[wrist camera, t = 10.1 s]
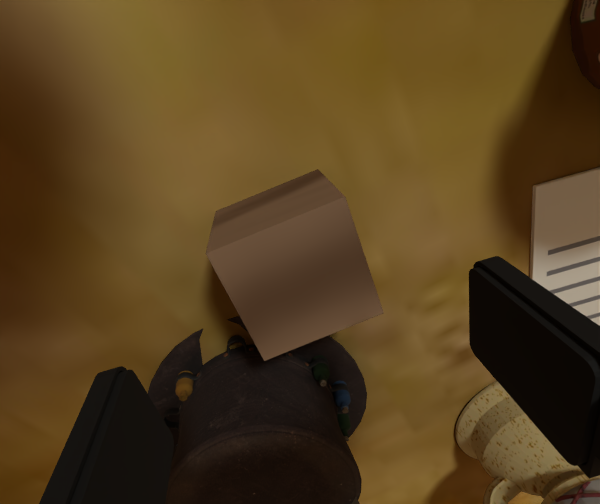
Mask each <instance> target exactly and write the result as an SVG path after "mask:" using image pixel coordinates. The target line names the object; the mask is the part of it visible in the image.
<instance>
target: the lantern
mask: <svg viewBox="0 0 600 504" xmlns="http://www.w3.org/2000/svg"><path fill="white" fill-rule="evenodd" d="M455 437H456V441H457V444H458V445H459V447H460V448H461V449H462V450H463V451H464V452H465V453H466V454H467V455H469V456H470V457H472V458H475V459H478V460H479V461H480V463H481V464H482V466H483V468H484V469H485V471H486V472H487V473H488V474H489V475H490V476H491V477H493V478H494V479H495V480H494V481H493V482H492V483H491V484H490V485H489V486H488V488H487V489H486V491H485V495H484V498H483V504H508V502H509V501H510V500H511V499H512V498H514V497H515V496H516V495H517V494H518V493H520V492H521V491H522V492H525V493H529V494H532V495H537V496H541V497H542V498H544V500H543V502H542V503H541V504H600V475H599V476H596V477H593V478H590V479H589V478H588V477H587V476H586V475H585V474H584V472H583V471H582V470H581V469H580V468H579V467H578V466H573V465H571V464H569V463H568V462H567V461H566V460H565V459H564V458H563V457H562V456H561V455H560V453H559V452H558V451H557V450H556V449H555V448H554V446H553V445H552V444H551V443H550V442H549V441H548V440H547V438H546V437H545V436H544V435H543V434H542V433H541V431H540V430H539V429H538V428H537V427H536V426H535V424H534V423H533V422H532V421H531V420H530V419H529V417H528V416H527V415H526V414H525V413H524V412H523V410H522V409H521V408H520V407H519V406H518V405H517V403H516V402H515V401H514V400H513V399H512V398H511V396H510V395H509V394H508V393H507V392H506V391H505V389H504V388H503V387H502V386H501V385H500V384H499V382H498V381H495V382H494V383H492V384H490V385H488V386H487V387H485V388H484V389H483V390H482V391H480V392H479V393H478V394H477V395H475V397H474V398H473V399H472V400H471V401H470V402H469V403H468V404H467V406H466V407H465V408H464V410H463V411H462V413H461V415H460V417H459V419H458V421H457V424H456V430H455Z"/></svg>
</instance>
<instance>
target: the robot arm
mask: <svg viewBox="0 0 600 504" xmlns="http://www.w3.org/2000/svg"><path fill="white" fill-rule="evenodd" d="M469 327H470V346H471V349H472V351H473V353H474V354H475V356H476V357H477V358H478V359H479V360H480V362H481V363H482V364H483V365H484V366H485V367H486V369H487V370H488V371H489V372H490V373H491V374H492V375H493V377H494V378H495V379H496V380H497V381H498V382H499V384H500V385H501V386H502V387H503V388H504V389H505V391H506V392H507V393H508V394H509V395H510V396H511V398H512V399H513V400H514V401H515V402H516V403H517V405H518V406H519V407H520V408H521V409H522V410H523V412H524V413H525V414H526V415H527V416H528V417H529V419H530V420H531V421H532V422H533V423H534V424H535V426H536V427H537V428H538V429H539V430H540V431H541V433H542V434H543V435H544V436H545V437H546V438H547V440H548V441H549V442H550V443H551V444H552V445H553V446H554V448H555V449H556V450H557V451H558V452H559V453H560V455H561V456H562V457H563V458H564V459H565V460H566V461H567V462H568V463H569V464H571V465H573V466H578V467H579V468H580V469H581V470H582V471H583V472H584V474H585V475H586V476H587V477H588V478H589V479H590V478H593V477H596V476H599V475H600V326H599V325H598V324H596V323H595V322H593V321H592V320H591V319H589V318H588V317H586V316H585V315H583V314H582V313H580V312H579V311H577V310H576V309H575V308H573V307H572V306H570V305H569V304H567V303H566V302H564V301H563V300H562V299H560V298H559V297H557V296H556V295H554V294H553V293H551V292H550V291H549V290H547V289H546V288H544V287H543V286H541V285H540V284H538V283H537V282H535V281H534V280H533V279H531V278H530V277H528V276H527V275H525V274H524V273H522V272H521V271H520V270H518V269H517V268H515V267H514V266H512V265H511V264H509V263H508V262H507V261H505V260H504V259H502V258H500V257H498V256H495V257H492V258H488V259H485V260H481V261H478V262H476V263H475V264H474V268H473V269H471V270H470V271H469ZM173 449H174V440H173V436H172V433H171V431H170V430H169V428H168V426H167V425H166V423H165V421H164V420H163V418H162V417H161V415H160V413H159V412H158V410H157V408H156V407H155V405H154V404H153V402H152V400H151V399H150V397H149V395H148V394H147V392H146V391H145V389H144V387H143V386H142V384H141V382H140V381H139V379H138V378H137V376H136V374H135V373H134V372H133V371H132V370H126V368H124V367H117V368H114V369H110V370H107V371H103V372H100V373H98V374H97V376H96V377H95V379H94V381H93V384H92V386H91V388H90V390H89V393H88V395H87V397H86V399H85V402H84V404H83V406H82V408H81V411H80V413H79V415H78V417H77V420H76V422H75V424H74V426H73V429H72V431H71V433H70V435H69V438H68V440H67V442H66V444H65V447H64V449H63V451H62V453H61V456H60V458H59V460H58V463H57V465H56V467H55V469H54V472H53V474H52V476H51V478H50V481H49V483H48V485H47V487H46V490H45V492H44V494H43V496H42V499H41V501H40V503H39V504H165V502H166V495H167V489H168V482H169V476H170V469H171V463H172V456H173Z"/></svg>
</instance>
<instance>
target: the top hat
mask: <svg viewBox="0 0 600 504" xmlns="http://www.w3.org/2000/svg"><path fill="white" fill-rule="evenodd" d="M227 320H229V321H232V322H234V323H237V324H240V325H241V326H242V327H243V328H244V329H245V330H246V331H247V332H248V330H247V328H246V326H245V325H244V323H243V321H242V319H241V317H240V316H239V317H234V318H231V319H227ZM202 331H203V329H201V330H199V331H197V332H195V333H193V334H192V335H190V336H189V337H188V338H186V339H185V340H183V341H182V342H181V343H179V344H178V345H177V346H175V347H174V349H173V350H172V351H171V352H170V353H169V354H168V355H167V357H166V358H165V359H164V360H163V361H162V363H161V364H160V366H159V368H158V370H157V372H156V374H155V375H154V377H153V379H152V381H151V384H150V387H149V391H148V395H149V397H150V399H151V400H152V402H153V404H154V405H155V407H156V408H157V410H158V412H159V413H160V415H161V417H162V418H163V420H164V421H165V423H166V425H167V426H168V428H169V430H170V431H171V433H172V436H173V440H174V449H173V456H172V463H171V469H170V476H169V482H168V489H167V495H166V502H165V504H359V502H358V499H359V496H360V493H361V476H360V472H359V469H358V466H357V464H356V462H355V460H354V457H353V455H352V453H351V451H350V449H349V447H348V444H347V442H346V441H348V440H349V439H348V438H349V437H350V436H351V435H352V434H353V432H354V431H355V429H356V428H357V426H358V425H359V423H360V422H361V419H362V417H363V414H364V411H365V409H366V398H367V392H366V388H365V383H364V378H363V376H362V374H361V372H360V370H359V368H358V366H357V364H356V362H355V360H354V359H353V358H352V357H351V356H350V354H349V353H348V352H347V351H346V350H345V349H344V347H343V346H342V345H340V344H339V343H338V342H337V341H335V340H334V339H333V338H331V337H330V336H329V335H328V336H325V337H323V338H320V339H318V340H315V341H313V342H311V343H308V344H306V345H303V346H301V347H298V348H296V349H293V350H291V351H288V352H286V353H283V354H281V355H278V356H276V357H273V358H271V359H268V360H266V361H264V359H263V358H262V356H261V354H260V352H259V350H258V348H257V347H256V345H255V344H254V345H246V342H245V340H244V338H243V337H241V336H233V337H231V338H230V339H229V341H228V345H227V351H226V352H224V353H222V354H220V355H218V356H216V357H214V358H213V359H211V360H210V361H208V362H207V363H206V364H204V365H203V364H202V357H201V349H200V342H199V339H200V336H201V333H202ZM248 333H249V332H248ZM234 342H240V343H242V344H243V346H242V347H238V348H235V349H231V350H230V348H229V345H230V344H232V343H234Z"/></svg>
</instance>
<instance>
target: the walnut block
mask: <svg viewBox="0 0 600 504" xmlns="http://www.w3.org/2000/svg"><path fill="white" fill-rule="evenodd" d="M206 255H207V257H208V259H209V261H210V262H211V264H212V266H213V268H214V270H215V272H216V273H217V275H218V277H219V279H220V281H221V283H222V284H223V286H224V288H225V290H226V292H227V293H228V295H229V297H230V299H231V301H232V303H233V304H234V306H235V308H236V310H237V312H238V314H239V315H240V317H241V319H242V321H243V323H244V325H245V326H246V328H247V330H248V332H249V334H250V336H251V337H252V339H253V341H254V343H255V345H256V347H257V348H258V350H259V352H260V354H261V356H262V358H263V359H264V361H266V360H268V359H271V358H273V357H276V356H278V355H281V354H283V353H286V352H288V351H291V350H293V349H296V348H298V347H301V346H303V345H306V344H308V343H311V342H313V341H315V340H318V339H320V338H323V337H325V336H328V335H330V334H333V333H335V332H338V331H340V330H343V329H345V328H348V327H350V326H353V325H355V324H358V323H360V322H363V321H365V320H368V319H370V318H373V317H375V316H378V315H380V314H383V310H382V307H381V304H380V301H379V297H378V294H377V291H376V288H375V285H374V282H373V279H372V276H371V273H370V270H369V267H368V264H367V261H366V258H365V255H364V252H363V249H362V246H361V243H360V240H359V237H358V234H357V231H356V228H355V225H354V222H353V219H352V216H351V213H350V210H349V207H348V204H347V201H346V198H345V196H344V195H343V194H342V193H341V192H340V191H339V190H338V189H337V188H336V187H335V186H334V185H333V184H332V183H331V182H330V181H329V180H328V179H327V178H326V177H325V176H324V175H323V174H322V173H321V172H320V171H319V170H315V171H313V172H310V173H308V174H305V175H303V176H300V177H298V178H296V179H293V180H291V181H288V182H286V183H283V184H281V185H279V186H276V187H274V188H271V189H269V190H266V191H264V192H262V193H259V194H257V195H254V196H252V197H249V198H247V199H245V200H242V201H240V202H237V203H235V204H232V205H230V206H228V207H225V208H223V209H220V210H218V211H216V213H215V217H214V221H213V225H212V229H211V234H210V238H209V242H208V246H207V250H206Z"/></svg>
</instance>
